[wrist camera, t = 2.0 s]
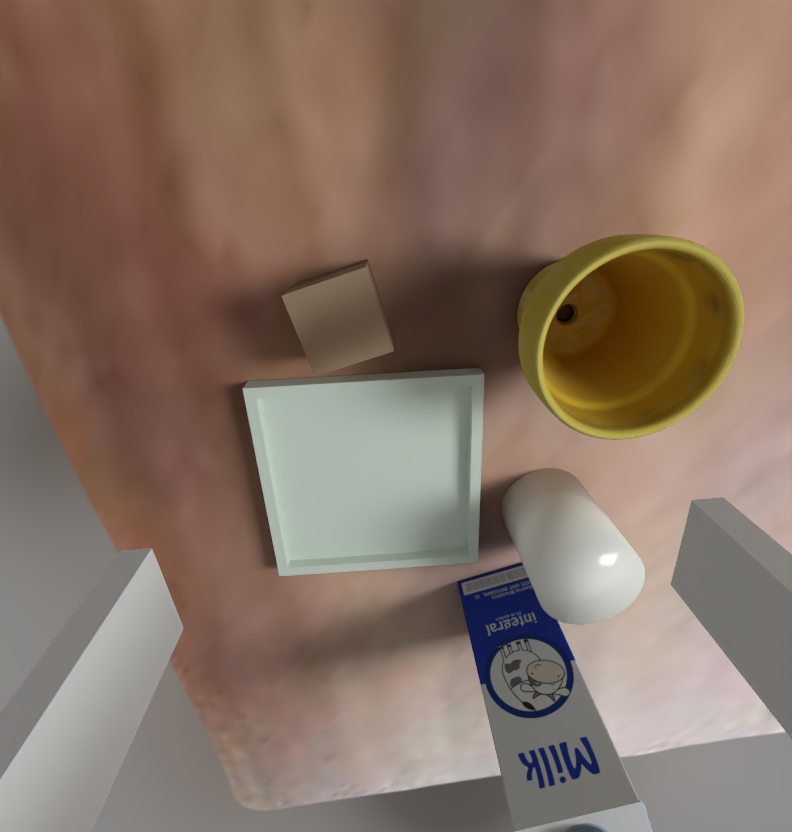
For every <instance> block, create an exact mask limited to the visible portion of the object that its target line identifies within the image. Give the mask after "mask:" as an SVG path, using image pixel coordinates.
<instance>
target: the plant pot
mask: <svg viewBox="0 0 792 832" xmlns="http://www.w3.org/2000/svg"><path fill="white" fill-rule="evenodd" d="M567 304H569V305H571V306H572V307H573V309H574V315H573V317H572V318H571V319H570V320H569V321H567V322H560V321H559V320H558V319H557V312H558V310H559V309H560V308H561V307H562V306H564V305H567ZM517 321H518V326H519V340H518V346H519V357H520V362H521V366H522V369H523V372H524V374H525V377H526V379H527V381H528V383H529V384H530V386H531V387H532V389H533V390H534V392H535V393H536V395H537V396H538V397H539V399H540V400H541V401H542V402H543V404H544V405H545V406H546V407H547V408H548V409H549V410H550V411H551V413H552V414H553V415H554V416H556V417H557V418H558V419H559V420H560V421H561V422H562V423H564V424H565V425H567V426H568V427H570V428H572V429H573V430H575V431H578V432H580V433H582V434H585V435H588V436H591V437H596V438H602V439H612V440H621V439H632V438H638V437H642V436H646V435H649V434H652V433H655V432H658V431H661V430H663V429H665V428H667V427H669V426H671V425H673V424H675V423H677V422H679V421H680V420H682V419H684V418H685V417H686V416H688V415H689V414H691V413H692V412H693V411H695V410H696V409H697V408H698V407H699V406H700V405H702V404H703V403H704V402H705V401H706V400H707V399H708V398H709V397H710V396H711V395H712V394H713V392H714V391H715V390H716V389H717V388H718V386H719V385H720V384H721V382H722V381H723V379H724V378H725V376H726V375H727V373H728V371H729V370H730V368H731V366H732V364H733V362H734V360H735V357H736V355H737V352H738V349H739V346H740V343H741V339H742V334H743V327H744V305H743V299H742V294H741V291H740V288H739V285H738V283H737V281H736V279H735V277H734V275H733V273H732V272H731V270H730V269H729V268H728V266H727V265H726V264H725V263H724V262H723V261H722V260H721V259H720V258H719V257H718V256H717V255H716V254H714V253H713V252H712V251H710V250H708V249H707V248H705V247H703V246H701V245H699V244H697V243H694V242H691V241H688V240H685V239H681V238H675V237H669V236H661V235H648V234H630V235H617V236H612V237H607V238H603V239H600V240H597V241H594V242H591V243H589V244H587V245H584V246H582V247H580V248H578V249H577V250H575V251H573V252H572V253H570V254H569V255H567V256H566V257H564V258H563V259H562V260H560V261H559V262H556V263H553V264H551V265H549V266H547V267H546V268H544V269H543V270H541V271H540V272H539V273H538V274H537V275H536V276H534V277H533V279H532V280H531V281H530V282H529V283H528V285H527V287H526V288H525V290H524V292H523V294H522V296H521V299H520V302H519V306H518V312H517Z"/></svg>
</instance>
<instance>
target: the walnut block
mask: <svg viewBox="0 0 792 832" xmlns="http://www.w3.org/2000/svg"><path fill="white" fill-rule="evenodd" d="M281 297H282V299H283V301H284V304H285V306H286V309H287V311H288V313H289V316H290V318H291V321H292V323H293V325H294V328H295V330H296V333H297V335H298V338H299V340H300V342H301V345H302V347H303V350H304V352H305V354H306V357H307V359H308V362H309V364H310V366H311V369H312V371H313V374H314V376H315V377H316V376H319V375H322V374H325V373H328V372H331V371H334V370H338V369H341V368H344V367H347V366H350V365H353V364H356V363H359V362H362V361H365V360H369V359H372V358H375V357H378V356H381V355H384V354H387V353H390V352H393V351H394V347H393V341H392V334H391V330H390V327H389V324H388V321H387V318H386V315H385V312H384V308H383V305H382V302H381V299H380V296H379V293H378V290H377V287H376V284H375V281H374V278H373V275H372V272H371V269H370V266H369V263H368V260H365V261H362V262H359V263H356V264H353V265H350V266H347V267H344V268H341V269H338V270H335V271H333V272H330V273H327V274H324V275H321V276H318V277H315V278H312V279H309V280H306V281H303V282H300V283H298V284H295V285H294V286H293V287H291V288H290V289H289V290H288V291H286V292H285V293H284V294H283V295H281Z"/></svg>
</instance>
